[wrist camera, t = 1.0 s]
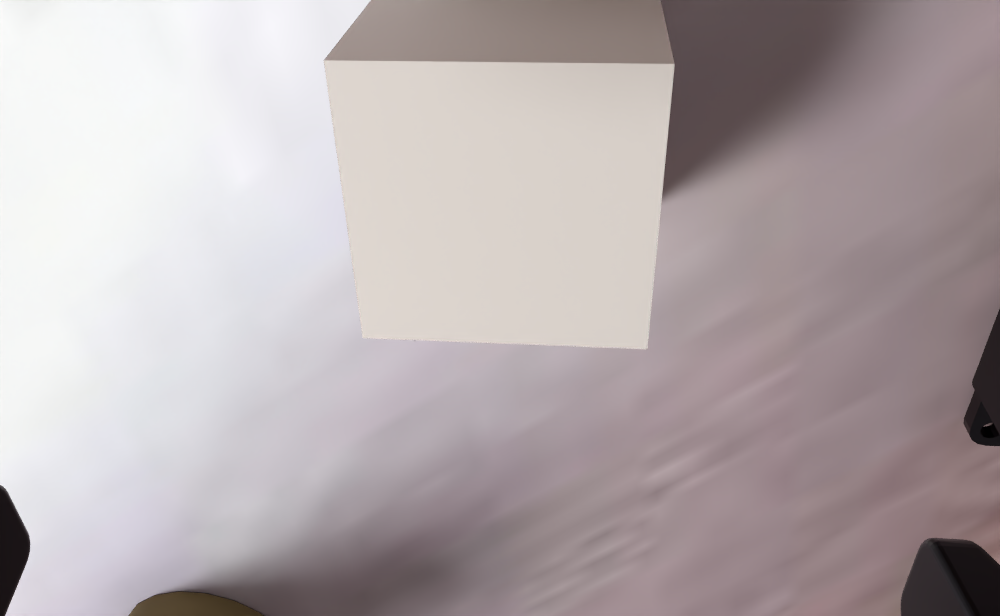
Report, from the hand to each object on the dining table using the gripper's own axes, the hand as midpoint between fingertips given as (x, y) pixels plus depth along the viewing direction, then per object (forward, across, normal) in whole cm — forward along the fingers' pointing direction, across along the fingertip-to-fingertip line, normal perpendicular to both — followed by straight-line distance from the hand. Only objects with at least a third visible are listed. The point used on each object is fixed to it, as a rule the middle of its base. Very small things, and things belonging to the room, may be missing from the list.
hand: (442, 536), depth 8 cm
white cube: (+11, 0, 0) cm, 11 cm away
